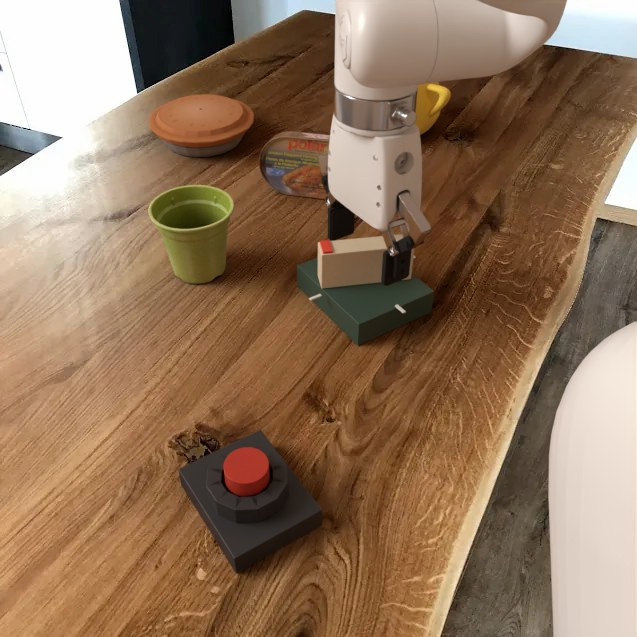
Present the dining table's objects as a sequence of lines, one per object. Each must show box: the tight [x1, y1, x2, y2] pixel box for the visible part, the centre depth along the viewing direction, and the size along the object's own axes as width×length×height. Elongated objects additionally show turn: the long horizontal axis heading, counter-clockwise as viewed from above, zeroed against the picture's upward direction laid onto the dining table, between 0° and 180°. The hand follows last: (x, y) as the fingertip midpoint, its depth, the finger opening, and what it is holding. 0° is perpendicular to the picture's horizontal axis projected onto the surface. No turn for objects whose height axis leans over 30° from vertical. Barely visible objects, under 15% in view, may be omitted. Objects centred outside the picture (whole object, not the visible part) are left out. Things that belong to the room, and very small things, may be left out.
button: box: [223, 447, 270, 497], centre depth 58 cm, size 4×4×2 cm
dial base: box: [296, 255, 435, 346], centre depth 81 cm, size 14×14×3 cm
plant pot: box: [147, 184, 235, 285], centre depth 83 cm, size 9×9×9 cm
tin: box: [258, 130, 330, 200], centre depth 97 cm, size 15×3×8 cm, turn 76°
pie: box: [148, 93, 255, 158], centre depth 109 cm, size 15×16×5 cm
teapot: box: [414, 82, 452, 136], centre depth 110 cm, size 14×13×10 cm
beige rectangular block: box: [317, 233, 415, 289], centre depth 79 cm, size 10×2×5 cm, turn 100°
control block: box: [178, 429, 323, 574], centre depth 60 cm, size 10×8×4 cm
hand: (366, 257), depth 78 cm, fingers open, 9 cm apart
